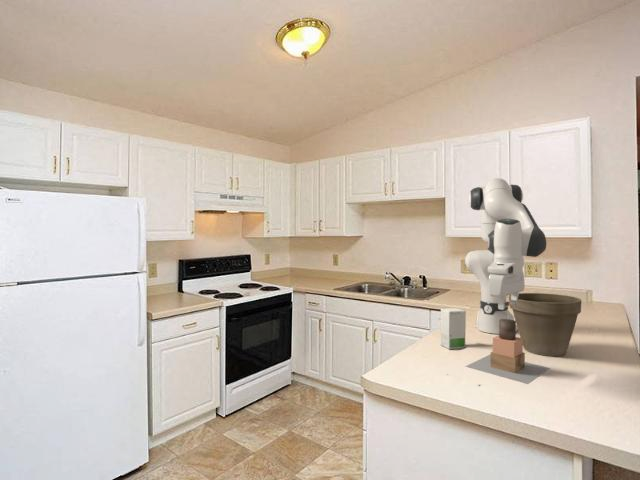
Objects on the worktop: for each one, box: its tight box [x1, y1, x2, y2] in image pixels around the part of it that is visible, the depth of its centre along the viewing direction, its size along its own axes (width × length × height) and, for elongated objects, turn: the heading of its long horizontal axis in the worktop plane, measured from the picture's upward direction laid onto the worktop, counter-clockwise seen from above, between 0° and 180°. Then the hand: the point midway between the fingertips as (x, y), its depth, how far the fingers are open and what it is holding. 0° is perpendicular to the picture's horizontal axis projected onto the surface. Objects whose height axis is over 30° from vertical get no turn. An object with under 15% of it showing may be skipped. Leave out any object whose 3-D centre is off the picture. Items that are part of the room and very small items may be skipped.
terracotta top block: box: [492, 335, 524, 357], centre depth 127 cm, size 7×7×5 cm
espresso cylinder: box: [498, 319, 517, 340], centre depth 127 cm, size 5×5×6 cm
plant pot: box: [508, 292, 582, 357], centre depth 149 cm, size 25×25×22 cm
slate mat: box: [464, 353, 551, 385], centre depth 127 cm, size 20×20×2 cm
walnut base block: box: [490, 351, 526, 373], centre depth 127 cm, size 8×8×5 cm
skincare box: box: [439, 307, 467, 350], centre depth 155 cm, size 8×7×16 cm
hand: (507, 307), depth 127 cm, fingers open, 8 cm apart
